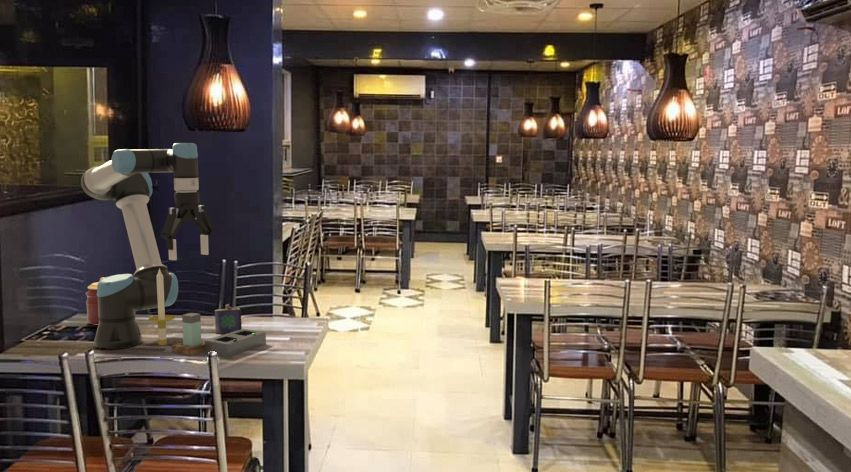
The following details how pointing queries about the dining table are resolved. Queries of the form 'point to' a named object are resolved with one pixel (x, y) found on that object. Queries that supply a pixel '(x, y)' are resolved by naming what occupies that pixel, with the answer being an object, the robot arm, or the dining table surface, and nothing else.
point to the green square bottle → (191, 329)
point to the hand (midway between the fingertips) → (189, 257)
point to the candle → (161, 311)
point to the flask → (227, 320)
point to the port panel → (235, 342)
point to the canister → (92, 304)
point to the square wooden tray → (188, 348)
